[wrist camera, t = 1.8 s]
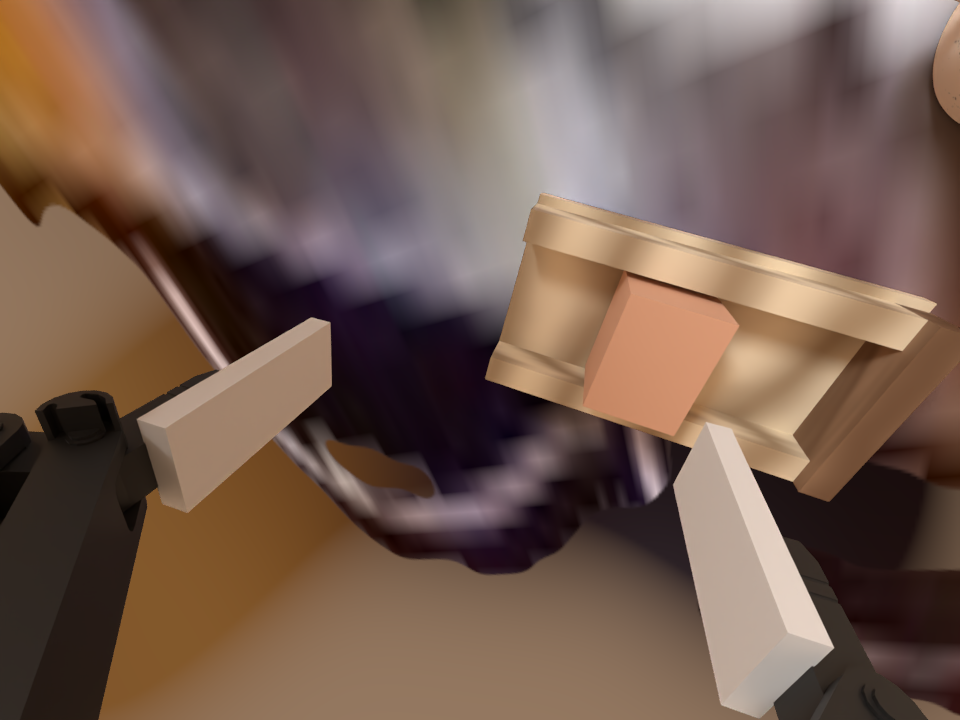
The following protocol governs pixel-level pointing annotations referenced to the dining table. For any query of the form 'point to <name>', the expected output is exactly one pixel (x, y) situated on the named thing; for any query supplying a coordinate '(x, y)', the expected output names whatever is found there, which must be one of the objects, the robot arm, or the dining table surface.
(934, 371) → the chute
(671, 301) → the block
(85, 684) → the robot arm
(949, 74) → the teacup with lid
